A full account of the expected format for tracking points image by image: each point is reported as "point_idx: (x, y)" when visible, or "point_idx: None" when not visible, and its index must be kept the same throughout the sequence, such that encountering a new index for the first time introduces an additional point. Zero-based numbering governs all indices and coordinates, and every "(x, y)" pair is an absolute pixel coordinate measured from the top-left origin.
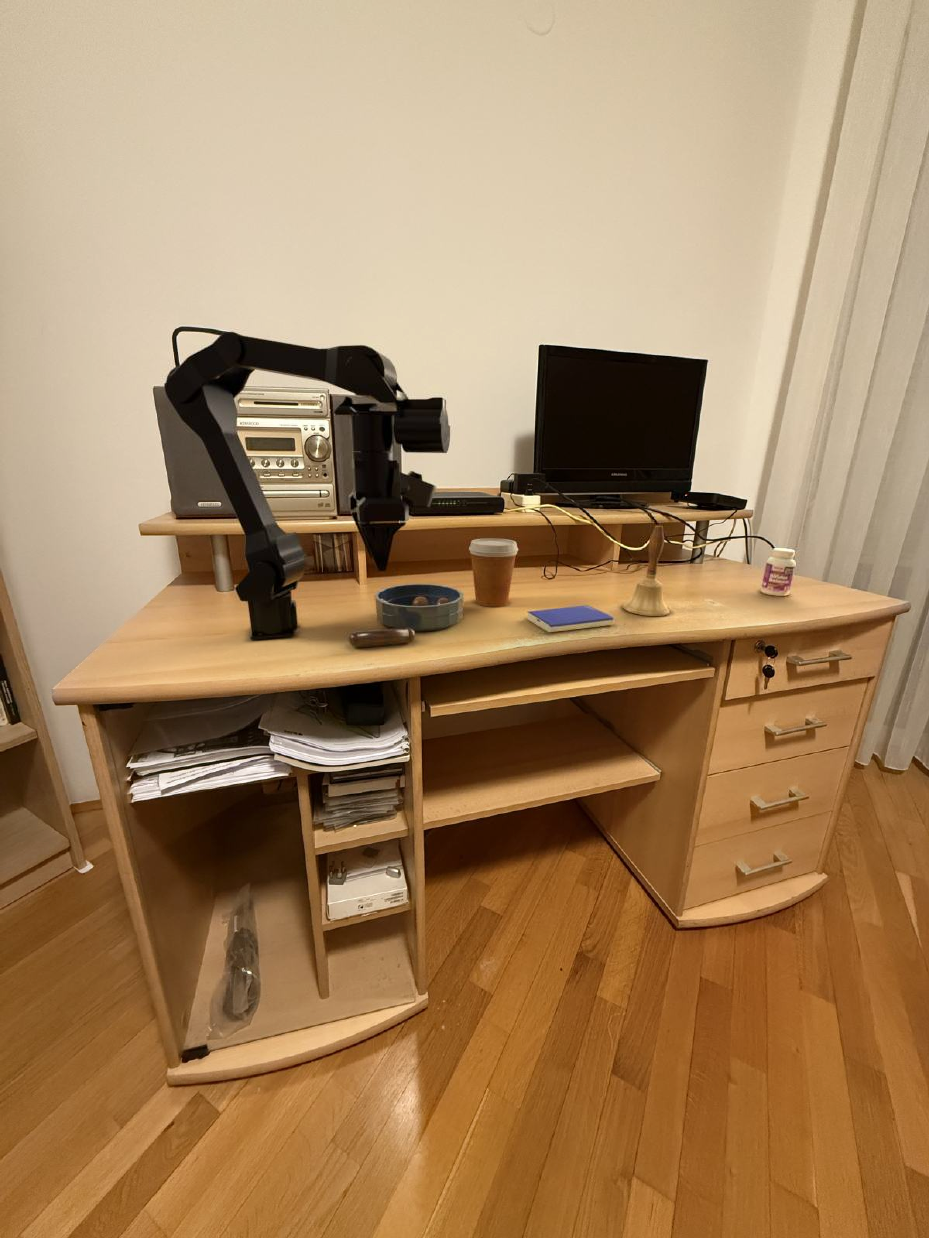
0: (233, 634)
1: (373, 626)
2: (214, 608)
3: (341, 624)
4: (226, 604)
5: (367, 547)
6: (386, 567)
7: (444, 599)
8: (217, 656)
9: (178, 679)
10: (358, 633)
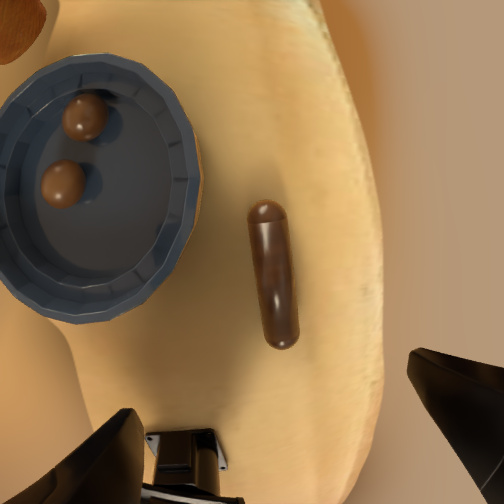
0: None
1: None
2: None
3: (133, 365)
4: None
5: (141, 476)
6: (430, 350)
7: (81, 109)
8: (283, 474)
9: (342, 472)
10: (292, 335)
